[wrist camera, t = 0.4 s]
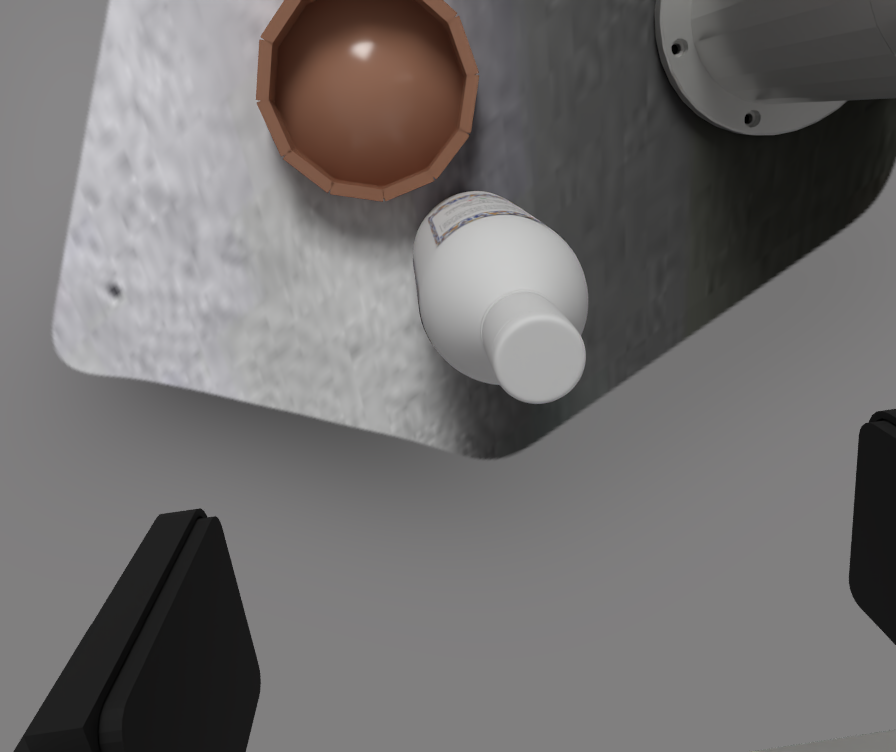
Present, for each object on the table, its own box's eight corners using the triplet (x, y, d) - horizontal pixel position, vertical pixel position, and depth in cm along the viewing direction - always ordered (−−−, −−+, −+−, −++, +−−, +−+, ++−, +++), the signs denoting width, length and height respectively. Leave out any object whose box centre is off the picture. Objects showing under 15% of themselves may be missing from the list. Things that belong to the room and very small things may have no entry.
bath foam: (503, 330, 43) (589, 492, 24) (393, 285, 41) (393, 421, 23) (555, 219, 41) (692, 301, 22) (441, 169, 40) (484, 210, 21)
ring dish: (425, -60, 36) (427, -73, 33) (499, 149, 39) (506, 151, 37) (229, 26, 37) (218, 18, 34) (320, 224, 40) (315, 230, 38)
